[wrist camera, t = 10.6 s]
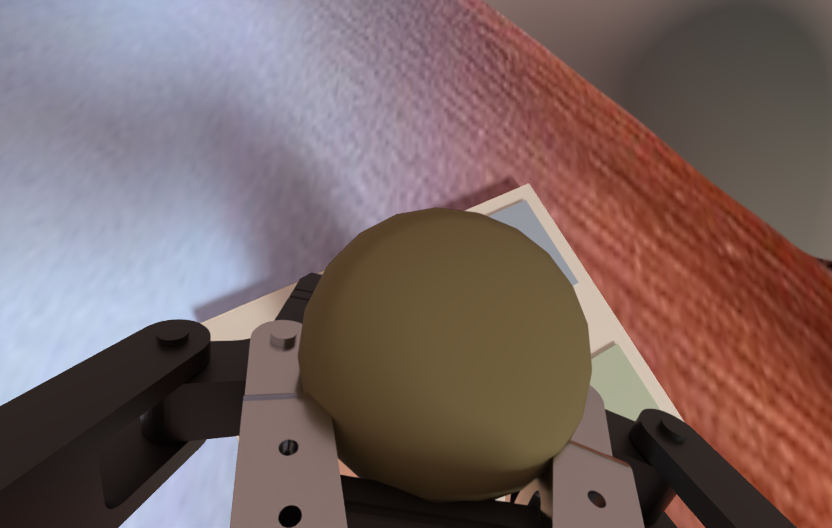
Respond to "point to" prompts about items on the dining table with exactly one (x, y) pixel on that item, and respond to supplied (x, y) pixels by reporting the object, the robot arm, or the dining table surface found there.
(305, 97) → the dining table surface
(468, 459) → the olive pawn
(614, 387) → the picture board
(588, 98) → the dining table surface
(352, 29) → the dining table surface
